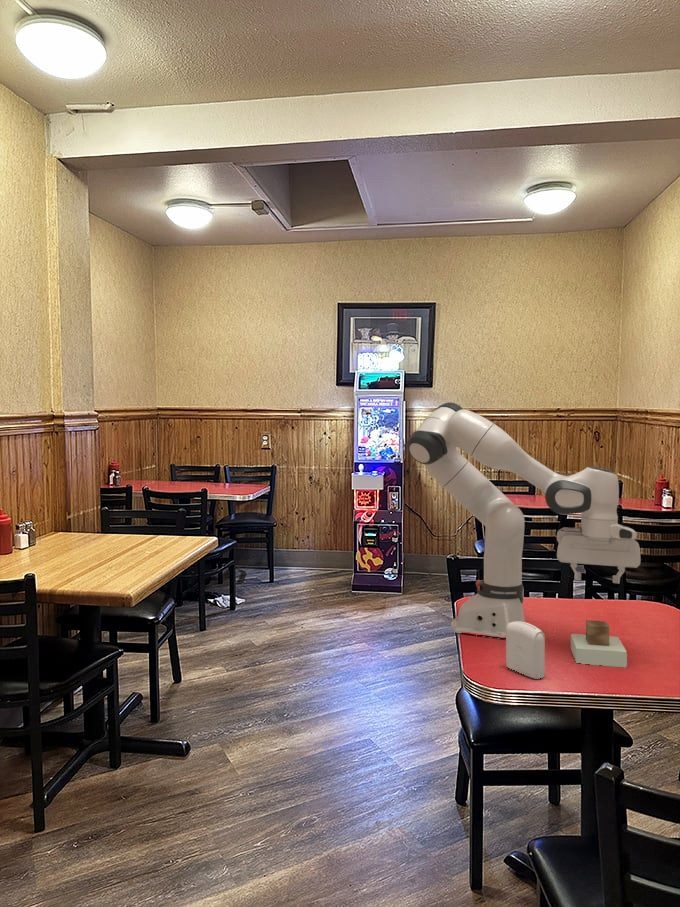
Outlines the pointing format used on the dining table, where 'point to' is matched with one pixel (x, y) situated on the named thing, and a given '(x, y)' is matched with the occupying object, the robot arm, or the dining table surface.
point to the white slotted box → (525, 649)
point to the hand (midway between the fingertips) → (596, 581)
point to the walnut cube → (597, 633)
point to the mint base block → (598, 652)
